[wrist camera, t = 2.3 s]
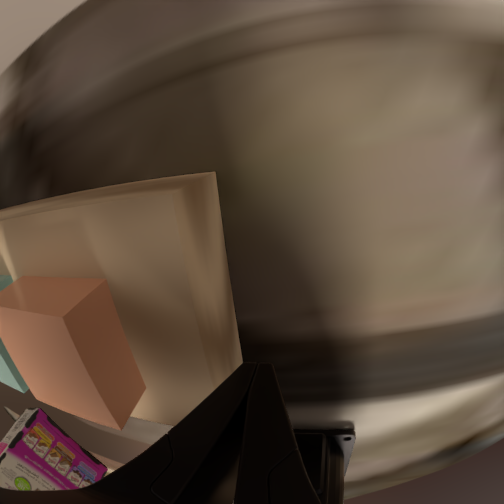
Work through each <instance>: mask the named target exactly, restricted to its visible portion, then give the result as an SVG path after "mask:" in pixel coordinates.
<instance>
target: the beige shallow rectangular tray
mask: <svg viewBox="0 0 504 504" xmlns="http://www.w3.org/2000/svg"><path fill="white" fill-rule="evenodd" d="M0 275H11V276H12V279H13V282H14V281H16V280H17V279H19V278H20V277H22V276H37V277H63V278H97V279H106V280H107V283H108V286H109V289H110V292H111V296H112V299H113V302H114V305H115V308H116V311H117V314H118V317H119V319H120V322H121V325H122V328H123V331H124V333H125V336H126V339H127V341H128V344H129V347H130V349H131V352H132V354H133V357H134V359H135V362H136V364H137V367H138V369H139V371H140V374H141V376H142V378H143V381H144V383H145V385H146V390H145V391H144V393H143V395H142V396H141V398H140V400H139V401H138V403H137V405H136V407H135V408H134V410H133V412H132V413H131V415H130V416H131V417H135V418H139V419H144V420H148V421H152V422H157V423H162V424H167V425H172V426H175V425H176V424H178V423H179V422H180V421H181V420H182V419H183V418H184V417H185V416H187V415H188V414H189V413H190V412H191V411H192V410H193V409H194V408H195V407H197V406H198V405H199V404H200V403H201V402H202V401H203V400H204V399H205V398H206V397H207V396H208V395H210V394H211V393H212V392H213V391H214V390H215V389H216V388H217V387H218V386H219V385H220V384H221V383H222V382H223V381H224V380H225V379H226V378H228V377H229V376H230V375H231V374H232V373H233V372H234V371H235V370H236V369H237V368H238V367H239V366H240V365H241V364H242V363H243V359H242V353H241V347H240V341H239V334H238V328H237V322H236V315H235V309H234V302H233V295H232V289H231V282H230V275H229V268H228V261H227V254H226V247H225V240H224V233H223V225H222V218H221V210H220V203H219V195H218V187H217V179H216V171H215V172H205V173H196V174H188V175H179V176H172V177H164V178H157V179H150V180H143V181H136V182H130V183H124V184H118V185H112V186H106V187H100V188H95V189H90V190H84V191H79V192H74V193H69V194H64V195H60V196H55V197H50V198H46V199H41V200H37V201H33V202H28V203H24V204H20V205H16V206H12V207H8V208H5V209H1V210H0Z"/></svg>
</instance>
